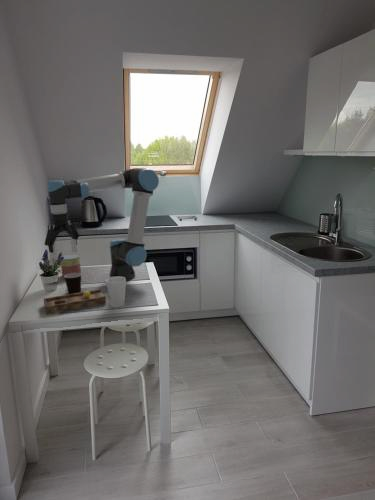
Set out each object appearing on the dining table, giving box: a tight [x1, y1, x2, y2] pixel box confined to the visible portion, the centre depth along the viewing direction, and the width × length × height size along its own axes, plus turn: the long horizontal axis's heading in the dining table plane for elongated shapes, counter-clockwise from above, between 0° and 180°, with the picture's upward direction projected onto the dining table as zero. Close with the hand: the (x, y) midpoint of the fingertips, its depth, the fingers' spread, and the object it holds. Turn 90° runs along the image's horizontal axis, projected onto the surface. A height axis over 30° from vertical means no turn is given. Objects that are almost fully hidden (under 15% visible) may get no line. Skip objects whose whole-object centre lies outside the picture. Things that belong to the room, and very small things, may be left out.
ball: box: [83, 290, 90, 298], centre depth 193 cm, size 4×4×4 cm
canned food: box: [60, 253, 82, 279], centre depth 236 cm, size 11×11×12 cm
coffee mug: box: [64, 273, 82, 295], centre depth 208 cm, size 12×9×10 cm
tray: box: [43, 288, 107, 315], centre depth 192 cm, size 28×12×4 cm, turn 114°
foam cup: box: [105, 276, 127, 308], centre depth 189 cm, size 10×9×13 cm
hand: (64, 255), depth 193 cm, fingers open, 13 cm apart
